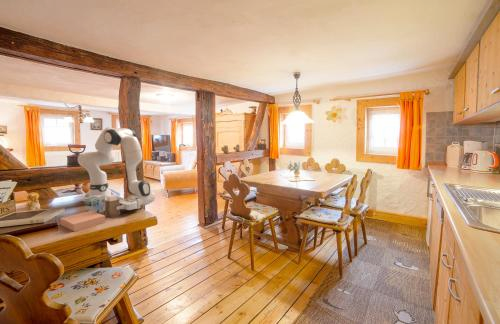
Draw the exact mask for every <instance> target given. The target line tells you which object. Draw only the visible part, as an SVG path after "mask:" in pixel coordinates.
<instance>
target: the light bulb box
mask: <svg viewBox="0 0 500 324" xmlns="http://www.w3.org/2000/svg"><path fill="white" fill-rule="evenodd" d="M83 199H84V201H83V202H84V204H83V205H84V212H87V211H93V212H96V213H99V214H101V213H104V212H106V211H105V195H95V196H92V197H88V198H85V197H84V198H83Z"/></svg>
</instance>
